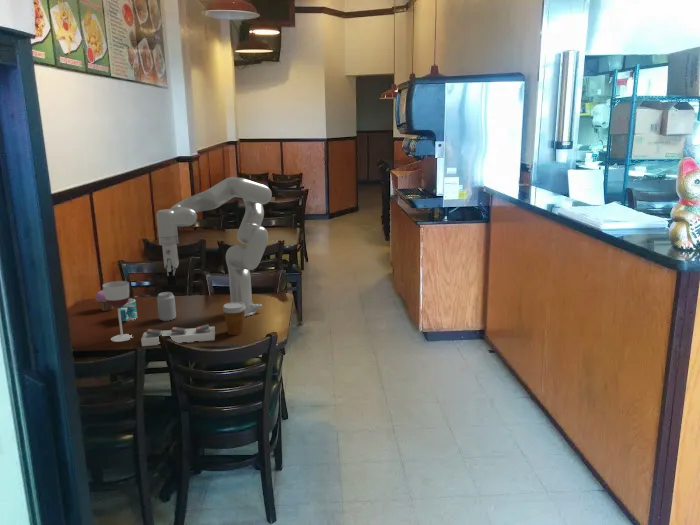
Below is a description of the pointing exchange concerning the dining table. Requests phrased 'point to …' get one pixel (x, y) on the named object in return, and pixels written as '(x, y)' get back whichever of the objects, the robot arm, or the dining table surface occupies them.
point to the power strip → (180, 336)
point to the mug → (128, 311)
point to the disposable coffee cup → (234, 317)
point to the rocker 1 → (153, 332)
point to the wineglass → (117, 302)
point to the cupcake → (103, 301)
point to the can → (166, 306)
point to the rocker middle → (178, 330)
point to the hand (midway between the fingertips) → (172, 283)
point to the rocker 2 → (202, 328)
